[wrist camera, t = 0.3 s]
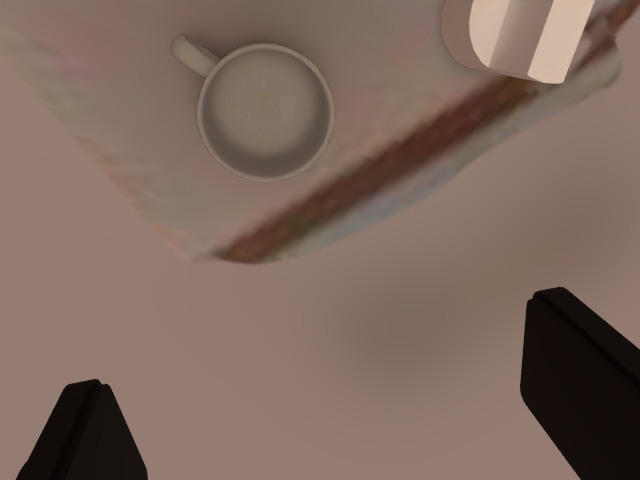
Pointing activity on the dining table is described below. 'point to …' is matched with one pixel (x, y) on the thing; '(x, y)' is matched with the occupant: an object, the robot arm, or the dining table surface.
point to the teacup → (260, 108)
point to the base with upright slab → (515, 35)
